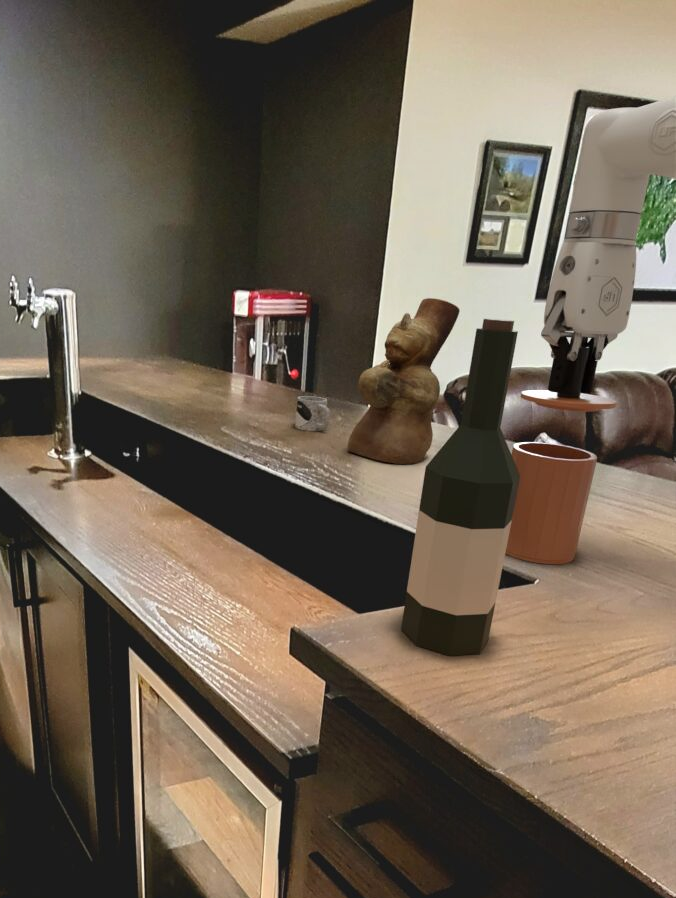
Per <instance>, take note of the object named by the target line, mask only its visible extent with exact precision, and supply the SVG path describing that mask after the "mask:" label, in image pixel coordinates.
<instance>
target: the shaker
mask: <svg viewBox="0 0 676 898" xmlns="http://www.w3.org/2000/svg"><path fill="white" fill-rule="evenodd" d="M511 449H512V450H511V455H512V457H513V460H514V462H515V464H516V467H517V469H518V472H519V474H520V481H519V486H518V491H517V496H516V501H515V506H514V511H513V516H512V521H511V527H510V532H509V537H508V542H507V547H506V552H505V555H507V556H510V557H512V558H515V559H518V560H522V561H525V562H531V563H536V564H542V565H564V564H569V563H571V562H572V561H573V560H574V559H575V556H576V553H577V548H578V545H579V540H580V536H581V532H582V527H583V522H584V519H585V513H586V509H587V506H588V501H589V497H590V491H591V488H592V483H593V479H594V474H595V470H596V466H597V461H598V457H597V454H595V453H594V452H591V451H588V450H586V449H582V448H580V447H574V446H570V445H565V444H564V445H563V444H557V443H551V442H541V441H539V442H538V441H524V442H517V443H514V444H513V445H512V448H511Z"/></svg>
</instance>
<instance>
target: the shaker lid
mask: <svg viewBox="0 0 676 898" xmlns="http://www.w3.org/2000/svg"><path fill="white" fill-rule="evenodd" d="M589 350H590V348H588V347H580V346H579V350H578V355H577V358H576V359H575V361H580V362H579V367H578V372H577V377H576V382H575V387H574V392H573V394H568V395H567V394H562V393H556V392H550V391H549V390H548V389H528V390H522V391H521V393H520V398H521V399H522V400H525V401H528V402H532V403H534V404H535V405H537V406H540V407H544V408H548V409H554V410H560V411H567V412H568V411H569V412H583V413H585V412H586V413H590V412H597V411H599V410H611V409H612V410H613V409H615V408H617V405H618V401H617V400H616V399H613V398H610V397H606V396H600V395H595V394H591V393H589V394H584V393H581V389H582V384H583V379H584V374H585V369H586V364H587V359H588V355H589Z"/></svg>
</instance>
